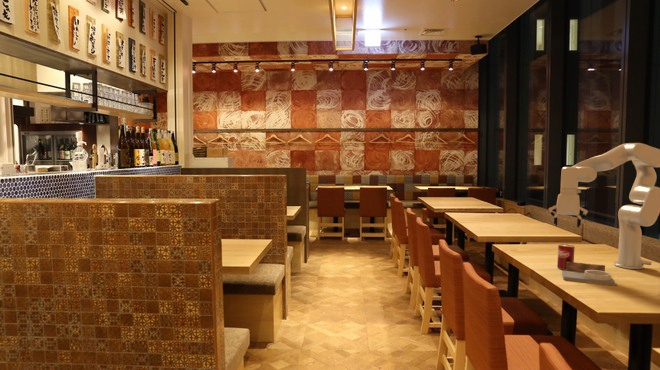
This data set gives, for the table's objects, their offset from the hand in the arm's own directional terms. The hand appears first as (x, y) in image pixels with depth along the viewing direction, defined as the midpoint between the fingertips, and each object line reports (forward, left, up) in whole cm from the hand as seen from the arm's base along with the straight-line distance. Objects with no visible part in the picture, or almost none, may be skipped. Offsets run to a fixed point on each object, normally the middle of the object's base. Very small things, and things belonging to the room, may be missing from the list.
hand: (566, 226), depth 226 cm
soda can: (0, 0, -22) cm, 22 cm away
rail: (-8, +7, -21) cm, 24 cm away
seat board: (-8, +17, -21) cm, 29 cm away
